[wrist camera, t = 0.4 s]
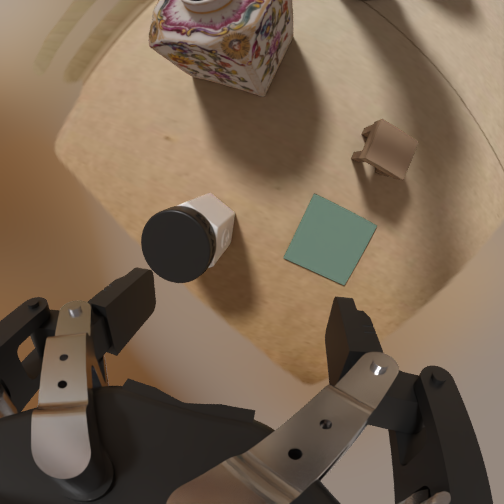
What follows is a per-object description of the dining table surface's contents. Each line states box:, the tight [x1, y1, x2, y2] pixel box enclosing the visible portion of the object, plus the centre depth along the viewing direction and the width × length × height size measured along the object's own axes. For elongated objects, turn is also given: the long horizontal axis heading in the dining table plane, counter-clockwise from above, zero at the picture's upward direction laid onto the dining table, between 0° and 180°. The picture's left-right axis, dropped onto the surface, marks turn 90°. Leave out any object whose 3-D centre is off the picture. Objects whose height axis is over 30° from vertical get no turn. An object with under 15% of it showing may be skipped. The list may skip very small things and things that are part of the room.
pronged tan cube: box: [351, 119, 419, 180], centre depth 28 cm, size 5×5×8 cm
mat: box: [284, 194, 377, 285], centre depth 37 cm, size 10×10×1 cm
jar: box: [141, 193, 235, 283], centre depth 33 cm, size 9×8×12 cm
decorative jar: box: [149, 0, 293, 97], centre depth 22 cm, size 12×12×18 cm
